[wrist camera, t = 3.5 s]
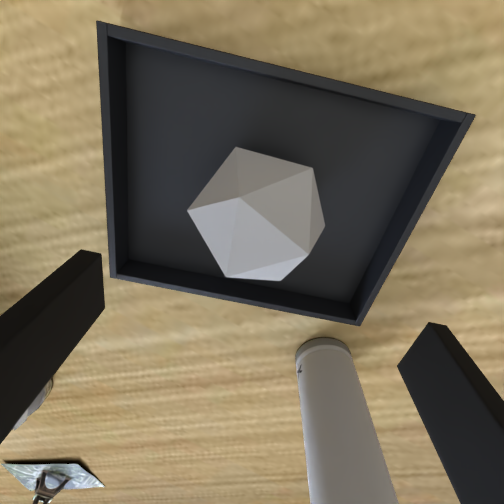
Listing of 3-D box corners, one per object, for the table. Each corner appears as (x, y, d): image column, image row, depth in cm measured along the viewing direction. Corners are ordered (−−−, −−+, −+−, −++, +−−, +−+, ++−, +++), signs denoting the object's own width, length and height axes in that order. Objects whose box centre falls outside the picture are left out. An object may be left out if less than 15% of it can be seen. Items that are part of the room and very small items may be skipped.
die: (226, 253, 27) (296, 324, 20) (148, 207, 20) (214, 289, 13) (282, 182, 26) (373, 230, 19) (222, 109, 19) (328, 145, 13)
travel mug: (281, 354, 33) (298, 651, 15) (330, 327, 30) (414, 643, 13) (313, 381, 35) (359, 669, 17) (360, 359, 32) (468, 666, 15)
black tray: (124, 260, 27) (109, 277, 25) (119, 30, 18) (95, 20, 16) (351, 306, 29) (360, 326, 26) (449, 112, 20) (476, 114, 17)
